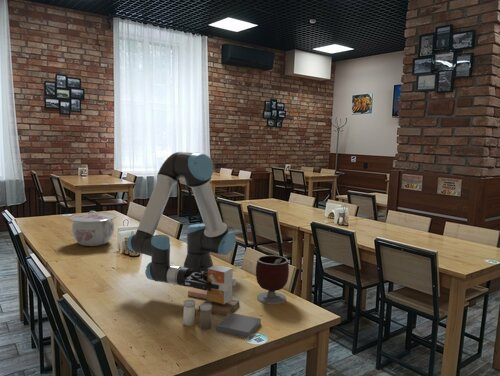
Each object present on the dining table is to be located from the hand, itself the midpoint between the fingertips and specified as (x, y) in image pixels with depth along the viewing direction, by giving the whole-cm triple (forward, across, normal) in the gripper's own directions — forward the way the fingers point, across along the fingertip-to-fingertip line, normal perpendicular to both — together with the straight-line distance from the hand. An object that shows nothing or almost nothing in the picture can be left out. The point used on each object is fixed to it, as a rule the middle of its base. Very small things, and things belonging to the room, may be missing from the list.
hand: (231, 284), depth 164 cm
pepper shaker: (-2, +17, -10) cm, 20 cm away
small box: (-5, 0, -7) cm, 9 cm away
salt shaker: (-9, +17, -10) cm, 22 cm away
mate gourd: (+11, -18, -11) cm, 24 cm away
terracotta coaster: (-17, -12, -10) cm, 23 cm away
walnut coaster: (-5, 0, -10) cm, 12 cm away
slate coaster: (+9, +12, -10) cm, 18 cm away
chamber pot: (-118, -53, -11) cm, 130 cm away
